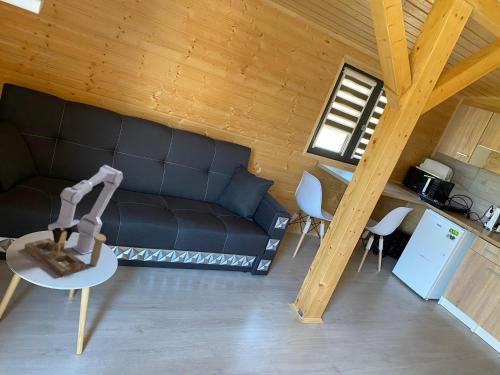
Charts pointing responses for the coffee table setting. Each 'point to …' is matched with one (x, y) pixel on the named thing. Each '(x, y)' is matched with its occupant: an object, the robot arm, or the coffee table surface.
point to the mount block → (55, 257)
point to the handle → (97, 248)
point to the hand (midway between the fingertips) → (60, 241)
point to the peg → (61, 241)
